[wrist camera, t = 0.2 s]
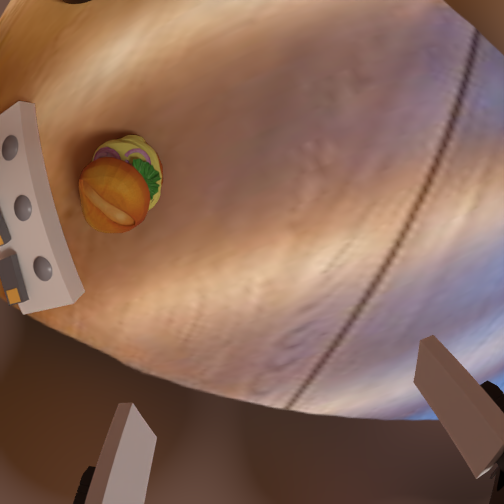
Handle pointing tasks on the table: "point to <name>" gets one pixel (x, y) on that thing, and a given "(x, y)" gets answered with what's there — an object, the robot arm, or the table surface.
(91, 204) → the cheeseburger
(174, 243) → the table surface
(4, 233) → the rocker middle
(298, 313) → the table surface
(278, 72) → the table surface
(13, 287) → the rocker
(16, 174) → the rocker switch panel
